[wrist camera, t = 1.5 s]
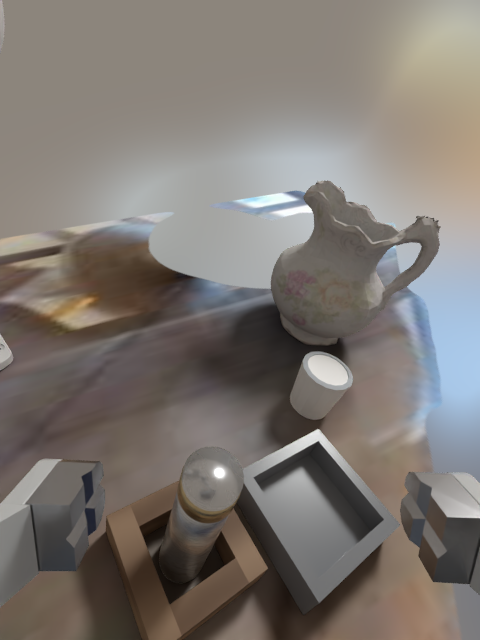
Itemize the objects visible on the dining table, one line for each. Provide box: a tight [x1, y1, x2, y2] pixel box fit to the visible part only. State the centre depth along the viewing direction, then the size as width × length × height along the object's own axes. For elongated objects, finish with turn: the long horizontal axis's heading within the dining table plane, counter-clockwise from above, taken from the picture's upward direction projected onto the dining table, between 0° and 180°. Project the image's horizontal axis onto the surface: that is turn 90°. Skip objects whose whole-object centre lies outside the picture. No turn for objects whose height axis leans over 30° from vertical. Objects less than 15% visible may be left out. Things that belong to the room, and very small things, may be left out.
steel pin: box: [159, 447, 244, 583], centre depth 26 cm, size 4×4×14 cm
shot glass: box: [290, 351, 353, 420], centre depth 47 cm, size 7×7×7 cm
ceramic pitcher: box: [271, 181, 440, 346], centre depth 58 cm, size 22×20×25 cm
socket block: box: [106, 481, 268, 640], centre depth 30 cm, size 10×10×3 cm
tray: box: [237, 429, 400, 615], centre depth 35 cm, size 12×12×4 cm
